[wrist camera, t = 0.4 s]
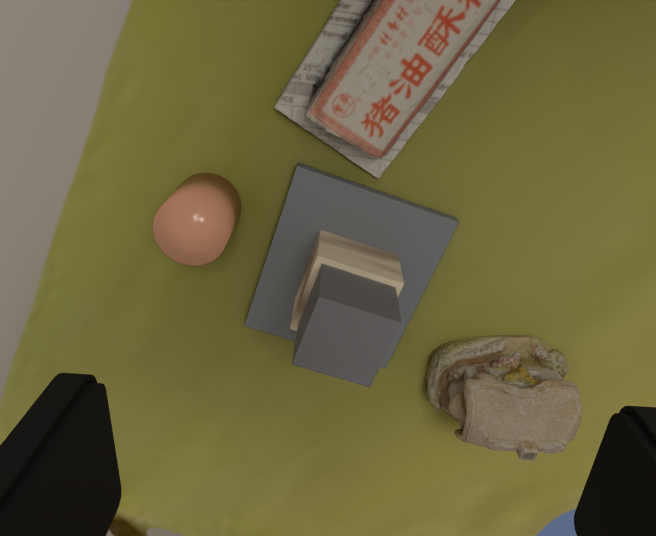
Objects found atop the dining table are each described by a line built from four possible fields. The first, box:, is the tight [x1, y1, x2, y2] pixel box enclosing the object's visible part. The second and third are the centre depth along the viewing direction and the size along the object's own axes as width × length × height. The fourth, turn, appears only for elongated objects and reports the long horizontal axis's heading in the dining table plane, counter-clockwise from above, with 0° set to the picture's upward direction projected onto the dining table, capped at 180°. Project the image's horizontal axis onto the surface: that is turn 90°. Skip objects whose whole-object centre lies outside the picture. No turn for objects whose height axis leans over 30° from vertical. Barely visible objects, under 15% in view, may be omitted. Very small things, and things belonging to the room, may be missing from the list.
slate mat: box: [244, 163, 459, 368], centre depth 46 cm, size 16×14×1 cm
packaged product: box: [274, 0, 516, 179], centre depth 36 cm, size 18×5×10 cm
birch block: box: [290, 230, 404, 331], centre depth 43 cm, size 7×7×5 cm
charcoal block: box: [292, 263, 402, 387], centre depth 39 cm, size 6×6×5 cm
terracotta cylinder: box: [153, 173, 241, 266], centre depth 41 cm, size 6×6×6 cm
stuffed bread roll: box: [426, 335, 582, 461], centre depth 47 cm, size 14×11×10 cm
